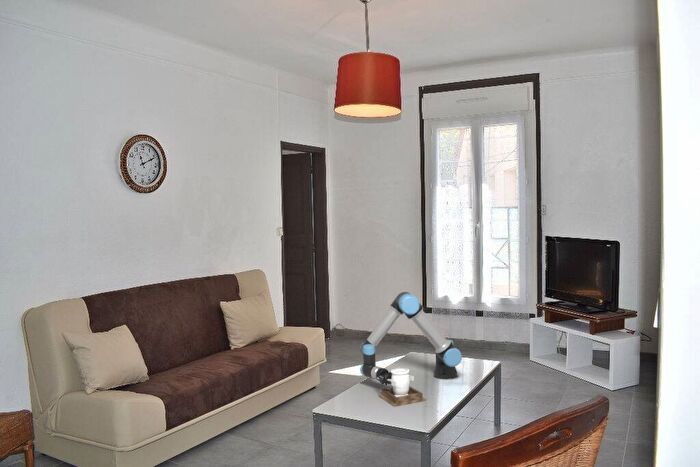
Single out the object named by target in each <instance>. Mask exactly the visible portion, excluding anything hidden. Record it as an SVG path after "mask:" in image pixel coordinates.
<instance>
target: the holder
mask: <svg viewBox="0 0 700 467" xmlns="http://www.w3.org/2000/svg"><path fill="white" fill-rule="evenodd" d="M380 392H381V393H379V394H378V395H377V396H378V398H380V399H382V400H384V401H385V402H386V403H388V404H390V405H391V406H392V407H394V408H395V407H400V406H406V405H412V404H417V403H420V402H421V403H422V402H426V401H427V399H426V397H425V396H423V395H424V394H423V392H422V391H419V390H418V389H415V388H413V386H410V385H409V391H408V395H405V396H399V397H396V396H394V394H395V393H394V391H393V386H392V387H387V388H381V391H380Z"/></svg>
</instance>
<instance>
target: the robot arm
mask: <svg viewBox="0 0 700 467" xmlns="http://www.w3.org/2000/svg"><path fill="white" fill-rule="evenodd" d="M389 307H390V308H389V309H388V310H387V312H386V313H385V314H384V316H383V317H382V318H381V320H380V321H379V323H378V324H377V325H376V327H375V328H374V329H373V330H372V332H371V333H370V335H369V336H368V337H367V339H366V340H365V341H364V342H362V343H361V344H360V347H359V351H360V353H361V355H362V359H363V362H362V364H361V365H360V368H359V371H360V374H361V375H363V376H365V377H366V378H371V379H374V380H376V381H378V382H380V384H381V385H385V386H388V385H389V386H392V387H393V386H395V387H396V381H393V380H391V379H392V373H391V371H389V370H388V369H387V368H384V367H380V366H377V365H376V348H377V346H378V345H379V343H380V342H382V340H383V338H384V337H385V336H386V334H387V333H388V332H389V331H390V329H391V328H392V326H394V324H395V322H397V320H398V319H399V317H400V316H403V315H405V317H406V318H407V320H412V322H414V323H415V325H416V326H417V327H418V329H419V330H420V331H421V333H423V335H424V336H425V338H426V339H427V340H428V341H429V343H430V344H431V345H432V346H433V347H434V348H435V349H434V351H435V366H434V369H433V377H434V378H436V379H440V380H451V379H455V378H457V377H458V371H457V368H456V367H457V366H459V364H460V363H461V362H462V358H463V355H462V352H461V351H460V349H458V348H457V347H456V346H455V344H454V341H453V340H452V339H447V338H446V337H445V336H444V335H443V334H442V332H441V331H440V329H438V327H437V326H436V325H435V324H434V322H433V321H432V320H431V319H430V317H429V316H428V315H427V313H426V312H425V311H424V306H423V305H422V304H421V303H420V301H419V298H418V297H416V295H414V294H411V293H410V292H408V291H402V292H400V293H398V294H397V296H396V297H395V298H394V300H393V301H392V303H391V304H390V306H389ZM409 378H410V382H414V381H415V376H414V375H410V374H409Z"/></svg>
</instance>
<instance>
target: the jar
mask: <svg viewBox="0 0 700 467" xmlns="http://www.w3.org/2000/svg"><path fill="white" fill-rule="evenodd" d="M390 372H391V373H392V379H390V380H393V381H396V387H395V386H392V387H393V391H394V393H395V394H394V396H396V397H399V396H405V395H408V391H409V386H410V385H411V381H410V378H409V375H410V374H409V373H410V369H409V368H406V367H396V368H393V369H391V370H390Z"/></svg>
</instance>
